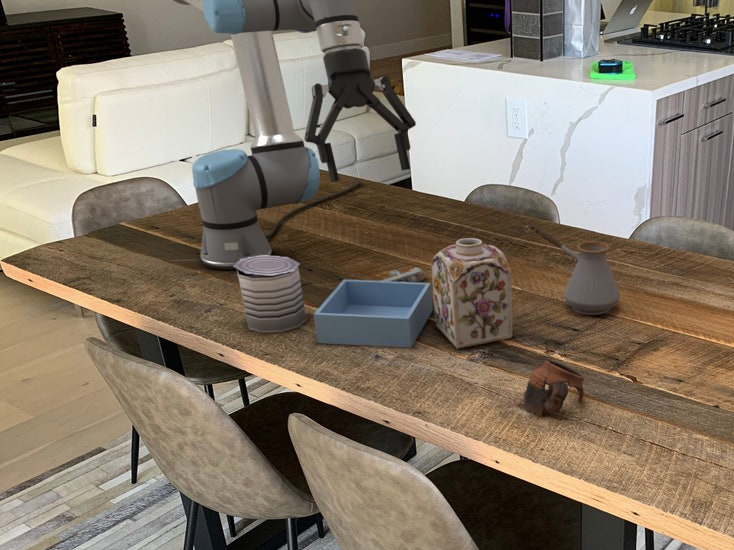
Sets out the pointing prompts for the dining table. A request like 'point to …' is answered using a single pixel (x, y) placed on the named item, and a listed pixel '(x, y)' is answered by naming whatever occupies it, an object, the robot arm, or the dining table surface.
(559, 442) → the dining table surface
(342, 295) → the tote
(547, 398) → the pottery mug
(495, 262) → the decorative jar
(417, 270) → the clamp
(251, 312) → the can
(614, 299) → the coffee pot
